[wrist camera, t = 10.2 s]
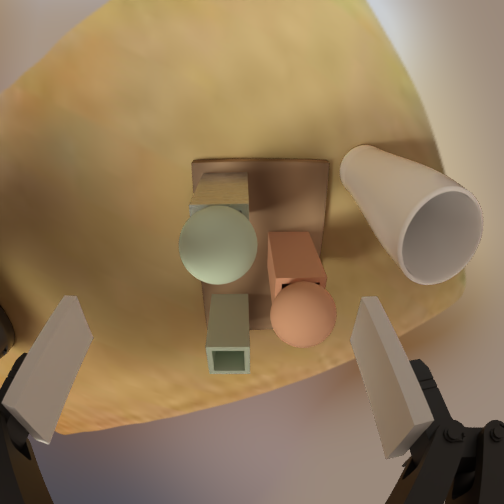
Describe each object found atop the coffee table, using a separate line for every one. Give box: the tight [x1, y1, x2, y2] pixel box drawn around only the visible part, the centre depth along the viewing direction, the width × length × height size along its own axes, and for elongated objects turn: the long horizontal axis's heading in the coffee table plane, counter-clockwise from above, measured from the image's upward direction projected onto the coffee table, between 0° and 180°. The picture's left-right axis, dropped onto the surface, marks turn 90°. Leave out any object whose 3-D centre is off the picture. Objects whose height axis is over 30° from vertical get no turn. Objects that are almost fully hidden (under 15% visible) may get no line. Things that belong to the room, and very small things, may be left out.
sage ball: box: [179, 206, 257, 285], centre depth 20 cm, size 5×5×5 cm
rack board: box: [192, 159, 329, 330], centre depth 33 cm, size 12×20×1 cm, turn 0°
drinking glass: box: [340, 145, 483, 285], centre depth 22 cm, size 7×7×15 cm
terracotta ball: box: [270, 282, 337, 348], centre depth 23 cm, size 5×5×5 cm
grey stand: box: [189, 172, 249, 220], centre depth 25 cm, size 4×4×8 cm
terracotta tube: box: [267, 232, 327, 303], centre depth 28 cm, size 4×4×8 cm
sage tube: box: [206, 294, 250, 374], centre depth 32 cm, size 4×4×8 cm
